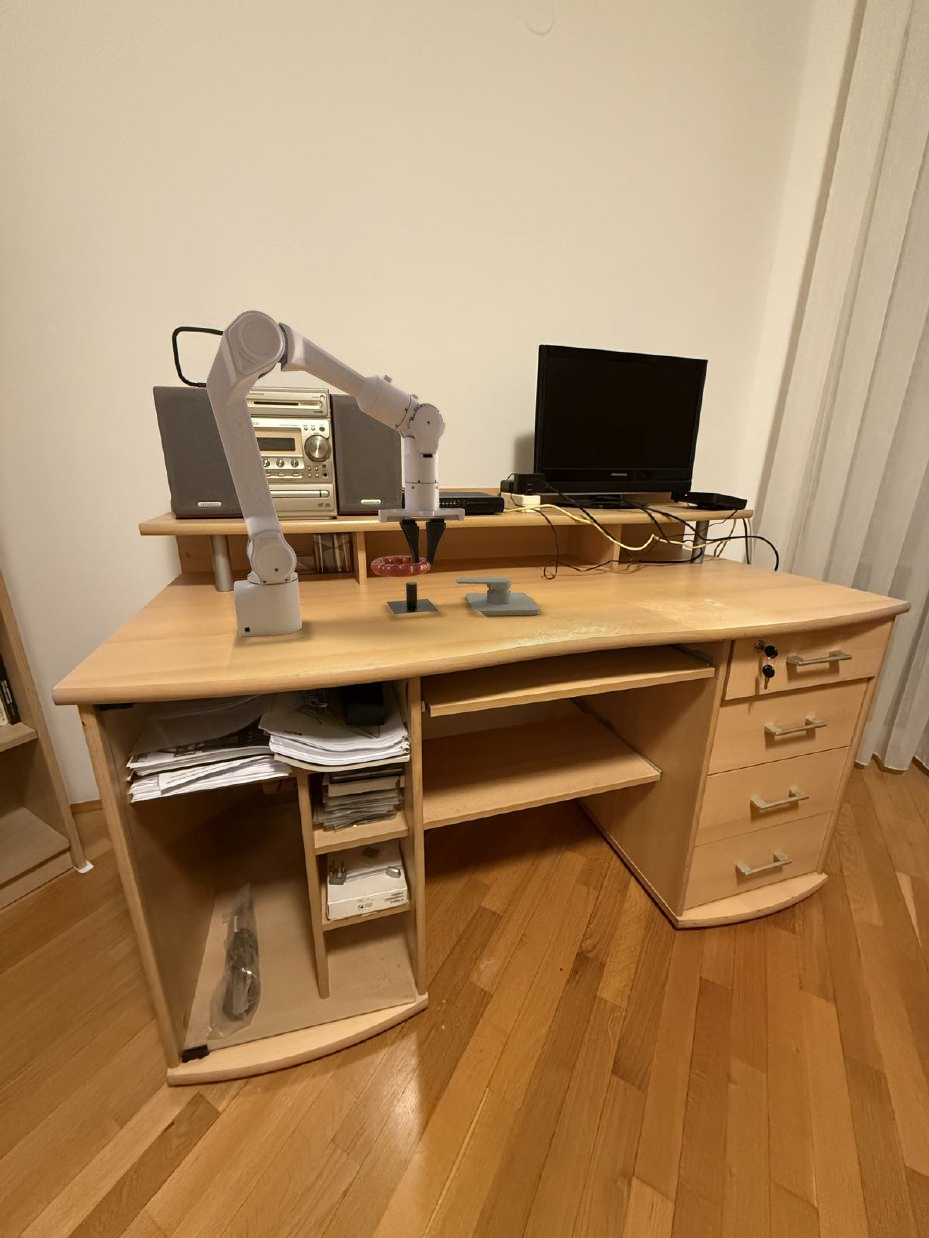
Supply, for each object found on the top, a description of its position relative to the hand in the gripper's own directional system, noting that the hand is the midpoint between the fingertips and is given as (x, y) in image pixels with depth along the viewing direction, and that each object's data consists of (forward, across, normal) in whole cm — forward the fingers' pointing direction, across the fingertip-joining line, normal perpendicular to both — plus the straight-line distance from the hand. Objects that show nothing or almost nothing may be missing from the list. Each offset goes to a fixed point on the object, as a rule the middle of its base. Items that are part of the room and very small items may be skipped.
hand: (422, 563), depth 85 cm
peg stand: (+10, -2, +3) cm, 10 cm away
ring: (0, -4, 0) cm, 4 cm away
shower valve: (+10, +14, +2) cm, 18 cm away
